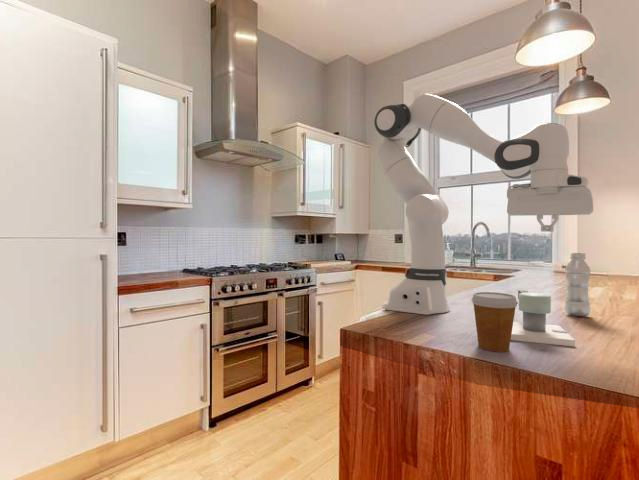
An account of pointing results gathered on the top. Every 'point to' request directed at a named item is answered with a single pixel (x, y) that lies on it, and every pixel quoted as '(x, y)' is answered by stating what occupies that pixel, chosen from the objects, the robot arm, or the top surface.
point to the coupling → (534, 302)
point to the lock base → (540, 331)
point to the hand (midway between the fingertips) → (547, 231)
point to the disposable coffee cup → (494, 319)
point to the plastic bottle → (577, 286)
